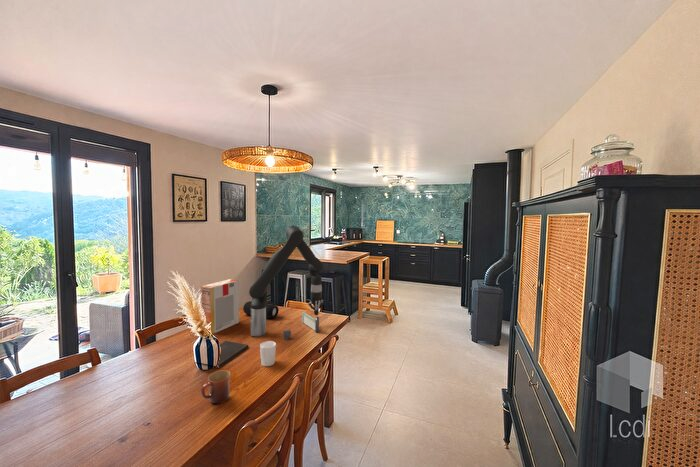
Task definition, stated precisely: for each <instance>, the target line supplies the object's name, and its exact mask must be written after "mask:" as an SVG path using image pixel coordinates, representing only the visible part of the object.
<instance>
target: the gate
mask: <svg viewBox="0 0 700 467" xmlns="http://www.w3.org/2000/svg"><path fill="white" fill-rule="evenodd" d="M315 319H316V318H314V317H313V316H311V315H309V314H308V313H306V311H302V312H301V323H302V324H304V325H306V326H308V327H309V328H310V329H312V330H313V331H315Z"/></svg>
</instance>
